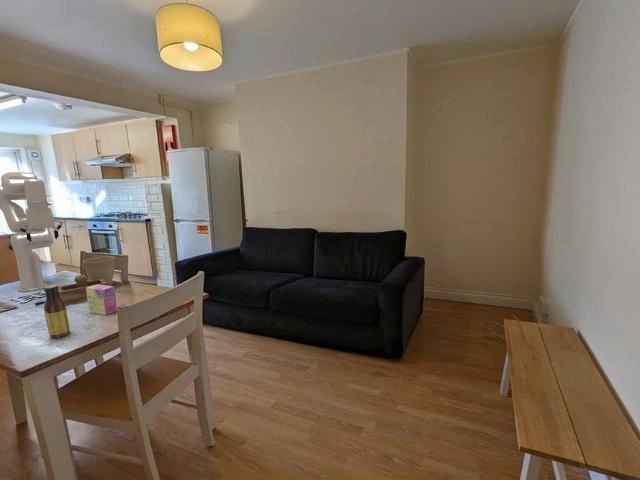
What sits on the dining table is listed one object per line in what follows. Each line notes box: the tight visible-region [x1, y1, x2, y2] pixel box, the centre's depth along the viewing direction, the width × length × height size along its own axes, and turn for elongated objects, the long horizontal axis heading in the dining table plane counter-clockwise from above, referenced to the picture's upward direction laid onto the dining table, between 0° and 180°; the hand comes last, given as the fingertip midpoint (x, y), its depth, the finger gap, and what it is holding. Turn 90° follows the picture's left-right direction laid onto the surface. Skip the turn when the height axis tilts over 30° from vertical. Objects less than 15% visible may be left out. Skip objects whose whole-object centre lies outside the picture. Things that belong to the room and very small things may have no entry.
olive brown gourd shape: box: [74, 274, 88, 288], centre depth 160 cm, size 6×6×11 cm
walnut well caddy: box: [58, 279, 108, 307], centre depth 160 cm, size 12×20×7 cm, turn 135°
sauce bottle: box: [43, 284, 71, 339], centre depth 119 cm, size 7×6×20 cm
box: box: [86, 284, 118, 316], centre depth 142 cm, size 10×6×12 cm, turn 71°
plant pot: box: [82, 255, 116, 286], centre depth 178 cm, size 15×15×16 cm
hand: (43, 240), depth 156 cm, fingers open, 9 cm apart
